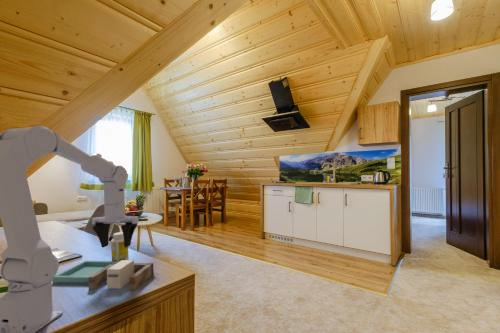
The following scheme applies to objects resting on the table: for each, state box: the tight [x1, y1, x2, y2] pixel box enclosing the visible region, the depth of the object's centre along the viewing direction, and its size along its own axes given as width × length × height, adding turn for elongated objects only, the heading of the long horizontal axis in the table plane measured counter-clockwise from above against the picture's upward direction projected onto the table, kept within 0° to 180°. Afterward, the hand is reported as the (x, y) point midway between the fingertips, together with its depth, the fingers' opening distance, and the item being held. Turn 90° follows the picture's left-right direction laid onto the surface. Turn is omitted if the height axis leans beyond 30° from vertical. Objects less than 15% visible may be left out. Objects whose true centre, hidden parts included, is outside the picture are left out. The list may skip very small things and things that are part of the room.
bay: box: [88, 262, 155, 291], centre depth 76 cm, size 10×14×4 cm
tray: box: [52, 260, 119, 285], centre depth 82 cm, size 13×13×2 cm
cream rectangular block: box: [106, 259, 135, 289], centre depth 75 cm, size 8×4×6 cm, turn 173°
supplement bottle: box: [110, 231, 129, 262], centre depth 93 cm, size 6×6×10 cm
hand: (116, 246), depth 79 cm, fingers open, 7 cm apart
